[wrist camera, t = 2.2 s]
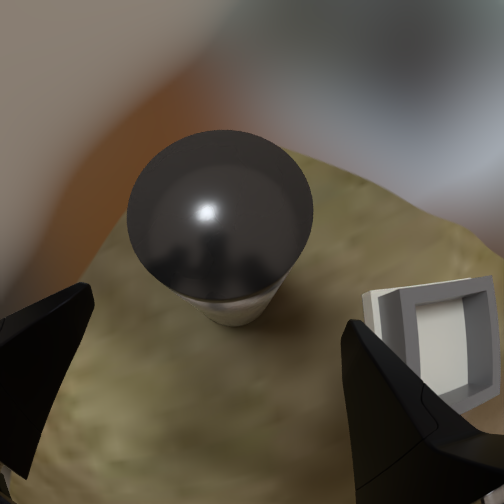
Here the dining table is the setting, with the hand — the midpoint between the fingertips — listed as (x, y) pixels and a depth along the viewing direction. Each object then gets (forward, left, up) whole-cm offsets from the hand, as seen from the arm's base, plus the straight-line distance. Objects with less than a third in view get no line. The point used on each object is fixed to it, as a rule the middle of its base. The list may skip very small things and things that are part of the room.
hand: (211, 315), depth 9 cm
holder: (-3, -14, -10) cm, 18 cm away
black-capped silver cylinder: (+3, 0, -10) cm, 10 cm away
